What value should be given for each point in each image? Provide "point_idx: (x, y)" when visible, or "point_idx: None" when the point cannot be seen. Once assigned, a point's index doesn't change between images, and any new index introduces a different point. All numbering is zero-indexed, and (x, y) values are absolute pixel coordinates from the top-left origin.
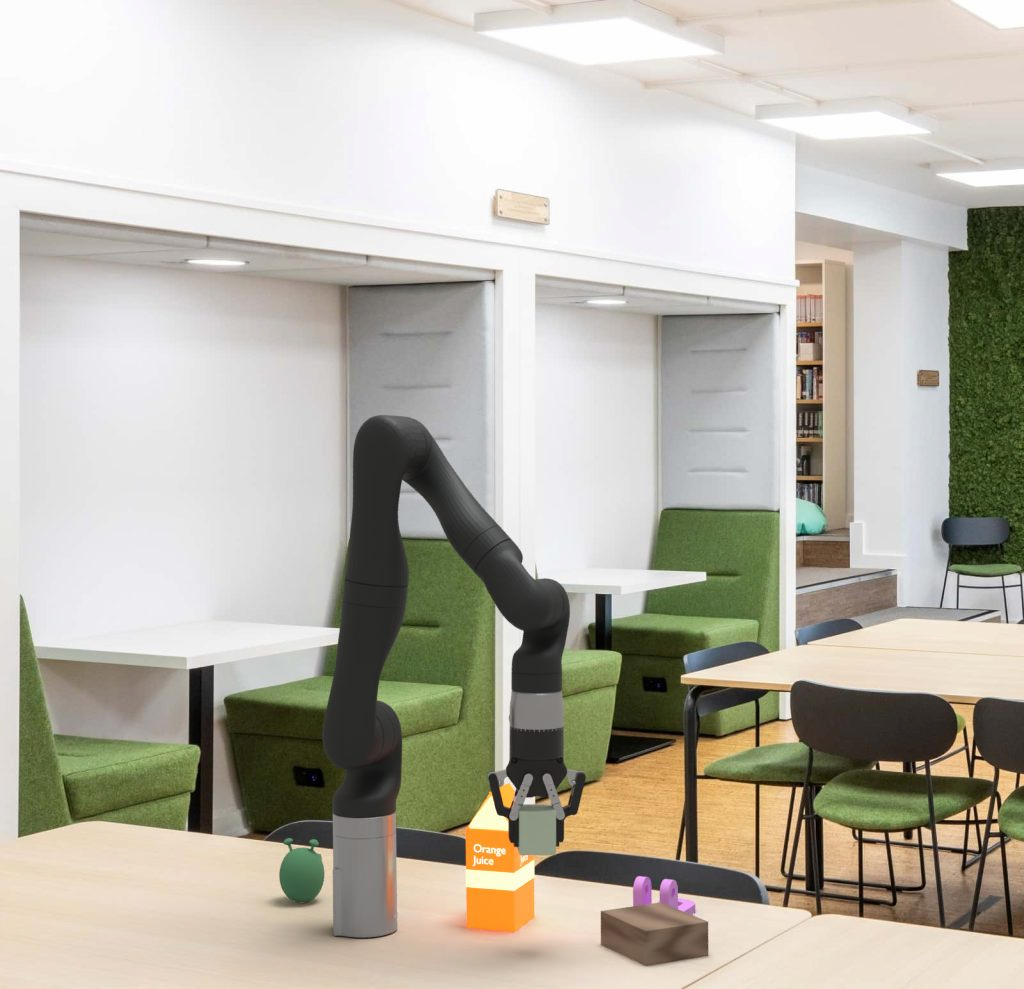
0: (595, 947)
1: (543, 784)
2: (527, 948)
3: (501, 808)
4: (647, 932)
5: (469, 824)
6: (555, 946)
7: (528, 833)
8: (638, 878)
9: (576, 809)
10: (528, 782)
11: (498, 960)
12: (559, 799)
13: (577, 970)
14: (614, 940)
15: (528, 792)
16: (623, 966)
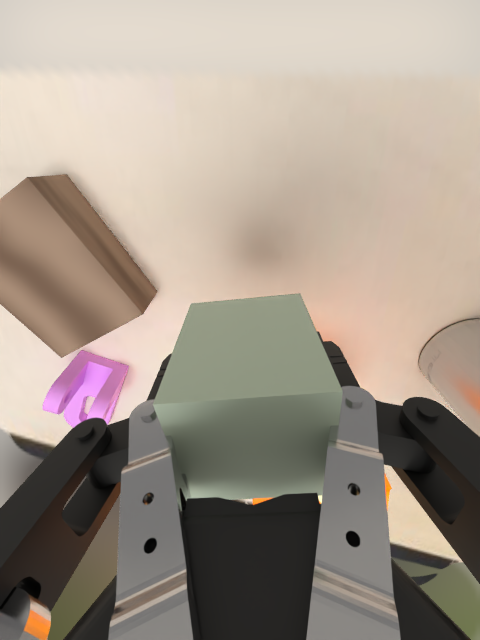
0: (163, 278)
1: (204, 602)
2: (258, 274)
3: (433, 426)
4: (26, 178)
5: (387, 497)
6: (219, 283)
7: (281, 331)
8: (98, 416)
9: (69, 439)
10: (338, 626)
11: (304, 212)
12: (121, 477)
13: (176, 148)
14: (127, 265)
15: (308, 527)
16: (103, 173)
